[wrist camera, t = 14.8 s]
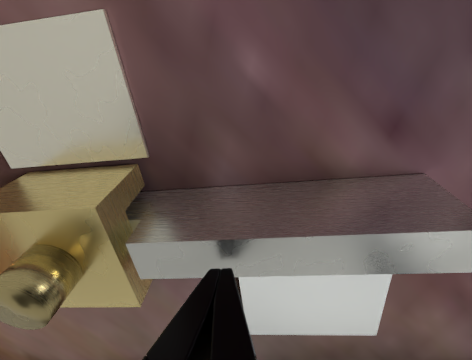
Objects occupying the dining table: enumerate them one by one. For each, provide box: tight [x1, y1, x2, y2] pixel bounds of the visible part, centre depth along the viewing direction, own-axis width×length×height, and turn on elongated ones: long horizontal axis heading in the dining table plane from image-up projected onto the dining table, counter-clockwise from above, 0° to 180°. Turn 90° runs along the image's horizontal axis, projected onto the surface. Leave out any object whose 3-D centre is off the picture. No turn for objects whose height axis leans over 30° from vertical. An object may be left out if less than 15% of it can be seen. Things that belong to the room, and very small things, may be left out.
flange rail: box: [0, 9, 472, 279], centre depth 9 cm, size 11×22×6 cm, turn 97°
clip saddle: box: [0, 164, 153, 329], centre depth 11 cm, size 6×6×6 cm
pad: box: [239, 274, 392, 335], centre depth 16 cm, size 9×9×1 cm
